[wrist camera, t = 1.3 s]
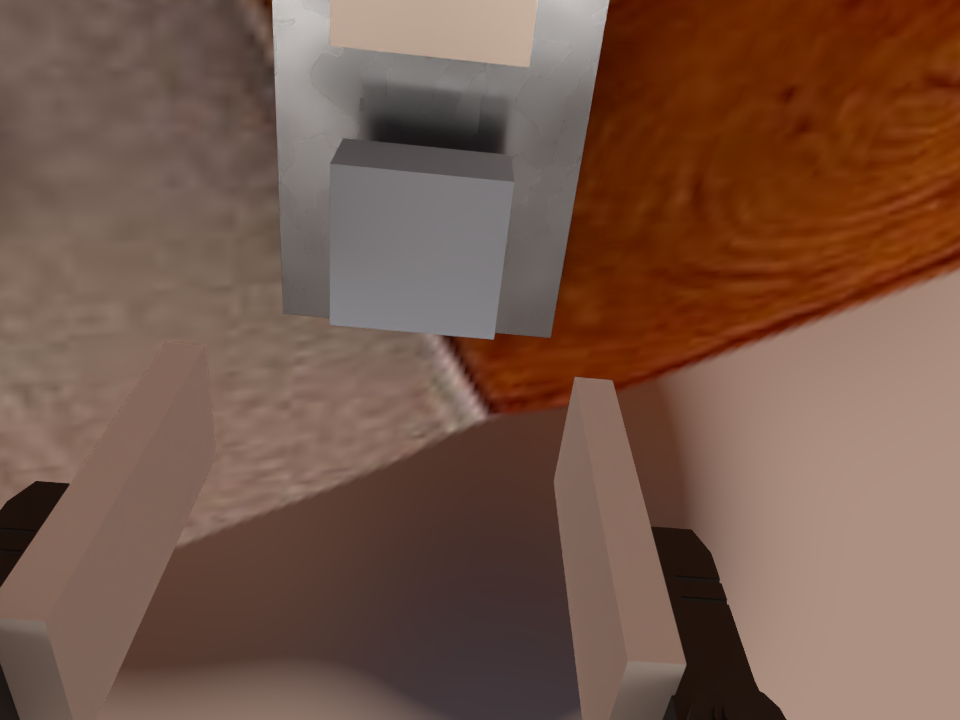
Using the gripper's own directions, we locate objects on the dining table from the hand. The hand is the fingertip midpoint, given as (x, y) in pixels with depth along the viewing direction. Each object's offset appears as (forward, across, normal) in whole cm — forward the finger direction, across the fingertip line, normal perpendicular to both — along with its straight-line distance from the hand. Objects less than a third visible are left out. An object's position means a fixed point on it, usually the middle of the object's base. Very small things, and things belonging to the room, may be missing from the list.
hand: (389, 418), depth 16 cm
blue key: (+13, 0, 0) cm, 13 cm away
